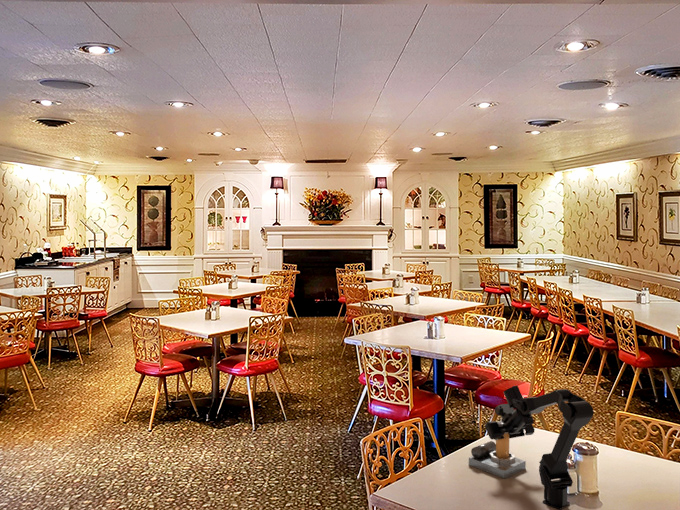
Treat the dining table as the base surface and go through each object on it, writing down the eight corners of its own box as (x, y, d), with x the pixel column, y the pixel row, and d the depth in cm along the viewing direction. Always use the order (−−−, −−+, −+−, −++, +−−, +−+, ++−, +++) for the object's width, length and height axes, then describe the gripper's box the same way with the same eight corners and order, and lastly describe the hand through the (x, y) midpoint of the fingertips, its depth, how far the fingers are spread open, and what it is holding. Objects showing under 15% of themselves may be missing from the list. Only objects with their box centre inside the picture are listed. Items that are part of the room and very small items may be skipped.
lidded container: (509, 459, 217) (509, 425, 217) (495, 458, 219) (496, 424, 218) (509, 454, 222) (509, 421, 222) (495, 453, 224) (496, 420, 223)
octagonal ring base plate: (525, 468, 219) (525, 450, 218) (504, 478, 210) (504, 459, 209) (490, 456, 231) (490, 439, 231) (468, 465, 222) (468, 447, 222)
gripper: (530, 397, 219) (512, 417, 230) (487, 401, 213) (471, 421, 224) (543, 424, 212) (524, 443, 223) (499, 429, 206) (482, 448, 217)
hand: (500, 438), depth 222 cm, fingers closed on lidded container, 5 cm apart
